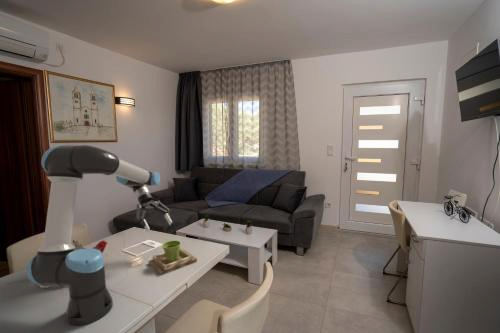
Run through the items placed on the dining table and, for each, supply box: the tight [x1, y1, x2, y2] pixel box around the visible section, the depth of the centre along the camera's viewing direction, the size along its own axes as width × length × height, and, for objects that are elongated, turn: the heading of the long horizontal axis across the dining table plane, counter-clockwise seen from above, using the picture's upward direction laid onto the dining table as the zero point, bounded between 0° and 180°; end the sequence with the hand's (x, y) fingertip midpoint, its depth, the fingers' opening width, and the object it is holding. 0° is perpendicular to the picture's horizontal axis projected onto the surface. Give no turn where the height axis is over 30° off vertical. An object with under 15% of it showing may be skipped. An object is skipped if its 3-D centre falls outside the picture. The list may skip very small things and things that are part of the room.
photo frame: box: [122, 239, 164, 257], centre depth 154 cm, size 15×1×18 cm
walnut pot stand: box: [147, 247, 198, 276], centre depth 134 cm, size 20×16×4 cm
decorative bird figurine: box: [92, 240, 109, 254], centre depth 138 cm, size 3×18×10 cm, turn 129°
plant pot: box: [161, 240, 182, 262], centre depth 134 cm, size 9×9×9 cm
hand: (160, 226), depth 139 cm, fingers open, 13 cm apart
